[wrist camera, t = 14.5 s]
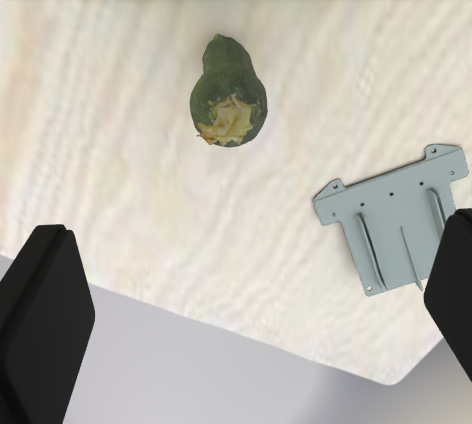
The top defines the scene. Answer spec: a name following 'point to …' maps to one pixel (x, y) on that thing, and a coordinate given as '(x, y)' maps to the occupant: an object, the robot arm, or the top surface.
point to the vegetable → (228, 96)
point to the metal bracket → (396, 218)
